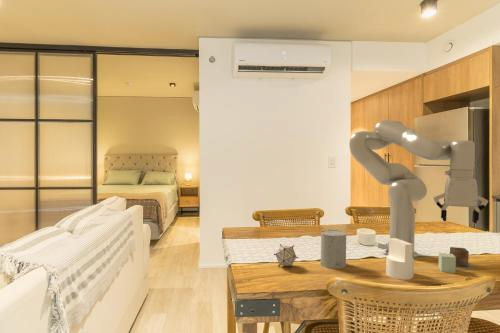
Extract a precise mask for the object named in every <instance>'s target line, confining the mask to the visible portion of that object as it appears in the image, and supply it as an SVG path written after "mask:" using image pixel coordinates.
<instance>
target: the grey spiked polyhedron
mask: <svg viewBox="0 0 500 333" xmlns="http://www.w3.org/2000/svg"><path fill="white" fill-rule="evenodd" d="M279 245H280V247H279V249H278V250H277V252H276V253H273V255H274V256H275V257H276V260H277V262H278V265H277V267H278V268H279V267H280V266H283V267H284V266H285V267H290V269H292V268H293V264H294V262H295V261H296V259H298V258H299V257H298V256H297V254H296V252H295V250H294V247H295V245H294V244H293V245H292V246H286V245H282V243H280V244H279Z"/></svg>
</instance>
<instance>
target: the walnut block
mask: <svg viewBox="0 0 500 333" xmlns="http://www.w3.org/2000/svg"><path fill="white" fill-rule="evenodd" d="M449 254H453V255H454V256H455V257H456V267H468V263H469V258H470V257H469V254H470V252H469V251H468V249H466V248H465V247H457V246H456V247H455V246H450V247H449Z"/></svg>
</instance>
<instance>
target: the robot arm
mask: <svg viewBox="0 0 500 333" xmlns="http://www.w3.org/2000/svg"><path fill="white" fill-rule="evenodd" d="M392 144H394V145H396V146H399V147H401V148H404V150H406V151H407V152H409V153H410V154H413V155H415V156H417V157H420V158H422V159H426V160H429V161H449V169H448V170H445V171H444V175H445V176H448V177H447V178H446V181H445V186H444V192H443V193H440V194H439V195H436V196H433V201H434V203H435V205H436V206H438V208H439V209H440V210H441V211H440V218H441V219H442V221H443V222H446V221H447V208H449V207H450V206H451V207H461V208H462V207H463V208H464V207H465V208H472V209H473V211H472V219H471V220H472V223H473V224H478V223H477V222H479V217H480V216H479V215H480V213H481V211H483V210H484V209H485V208H486V206H487V204H488V203H489V200H488V199H487V198H484V197H483V196H480V195H478V192H479V191H478V183H477V179H476V178H474V173H475V170H474V168H475V150H476V149H475V147H476V146H475V142H474V141H473V140H464V139H463V140H447V139H446V140H445V139H431V138H428V137H425V136H424V135H420V134H418V133H417V131H416V129H415V128H413V127H411V126H407V125H405V124H404V123H403V122H402V121H399V120H392V119H383V120H380V121H379V122H377V123H376V124H375V126H374V131H367V130H366V131H357V132H355V133H353V134H352V136H350V139H349V150H350V153H351V155H352V157H353V158H354V159H355V160H356V161H357V163H358V164H360V165H361V166H362V167H363V169H365V170H366V171H367V172H368V173H369V174H370V175H371V176H372V177H373V178H374V179H375V180H376V181H377V182H378V183H379V184H381V185H383V186H389V187H388V191H387V192H388V200H389V212H390V213H389V214H390V215H389V239H390V238H397V239H400V240H403V241H406V242H408V243H411V244H413V253H412V258H413V259H414V260H415V259H418V257H419V253H418V252H416V251H415V237H416V236H415V235H416V234H415V231H416V230H415V229H416V227H415V226H416V214H415V213H416V211H415V207H414V204H413V202H418V201H421V200H423V199H424V198H425V197H426V196H427V193H428V188H427V186H426V184H425V182H424V181H423V180H422V179H421V178H420V177H419V176H418V175H416V173H414V171H412V170H411V169H410V168H408V167H407V166H405V165H404V164H402V163H399V162H388V161H386V160H385V158H383V157H382V156H381V155H380V154H379V153H377V152H375V151H378V150H381V149H383V148H386V147H387V146H389V145H392ZM374 150H375V151H374ZM441 199H443V202H444V203H442V204H441V202H440V200H441ZM479 201H481V204H479V205H478V202H479ZM377 249H381V250H385V252H384V253H385V254H386V256H388V255H389V241H388V242H387V243H384V244H383V243H377Z"/></svg>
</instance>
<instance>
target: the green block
mask: <svg viewBox="0 0 500 333" xmlns="http://www.w3.org/2000/svg"><path fill="white" fill-rule="evenodd" d="M437 267H438V270H440V272H441V273H452V274H456V270H457V268H456V257H455V256H454V255H453V254H450V253H447V252H446V253H445V252H438V266H437Z"/></svg>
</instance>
